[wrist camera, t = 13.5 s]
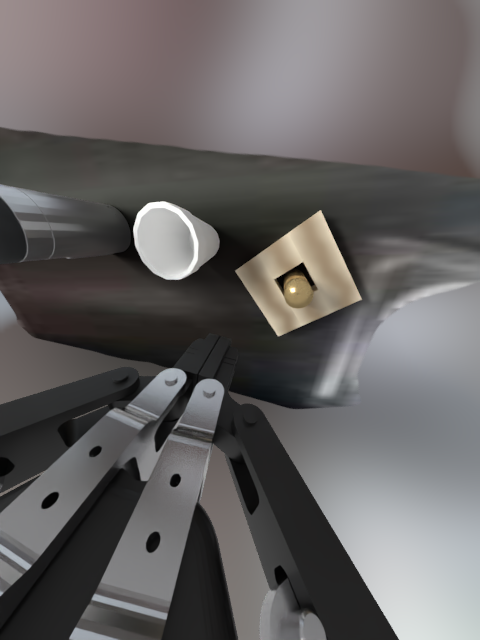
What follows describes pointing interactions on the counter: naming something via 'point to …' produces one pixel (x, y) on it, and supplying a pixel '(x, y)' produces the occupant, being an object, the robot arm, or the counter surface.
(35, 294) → the counter surface
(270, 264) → the plate
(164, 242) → the foam cup
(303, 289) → the brass cylinder
